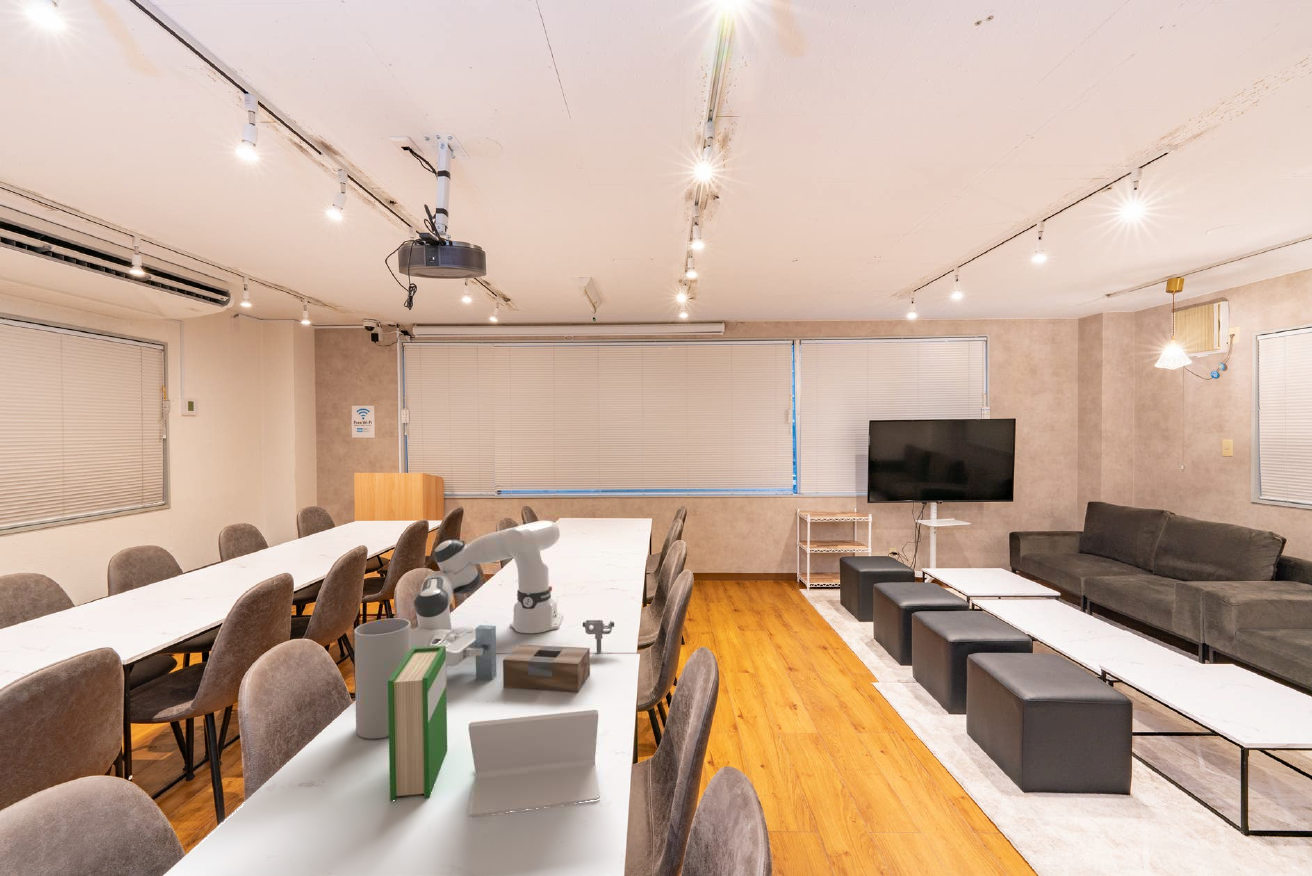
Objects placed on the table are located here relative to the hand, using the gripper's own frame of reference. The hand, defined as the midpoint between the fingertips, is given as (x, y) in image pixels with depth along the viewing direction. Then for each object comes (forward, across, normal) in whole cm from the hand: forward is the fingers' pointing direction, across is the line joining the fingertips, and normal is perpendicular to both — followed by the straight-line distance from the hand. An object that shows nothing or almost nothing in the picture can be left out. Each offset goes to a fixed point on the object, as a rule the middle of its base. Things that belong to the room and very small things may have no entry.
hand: (488, 647), depth 172 cm
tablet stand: (+32, +47, -10) cm, 58 cm away
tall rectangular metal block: (-1, 0, -9) cm, 9 cm away
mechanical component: (+27, -24, -9) cm, 37 cm away
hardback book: (+7, +48, -9) cm, 49 cm away
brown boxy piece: (+18, 0, -9) cm, 20 cm away
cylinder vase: (-13, +31, -9) cm, 35 cm away
